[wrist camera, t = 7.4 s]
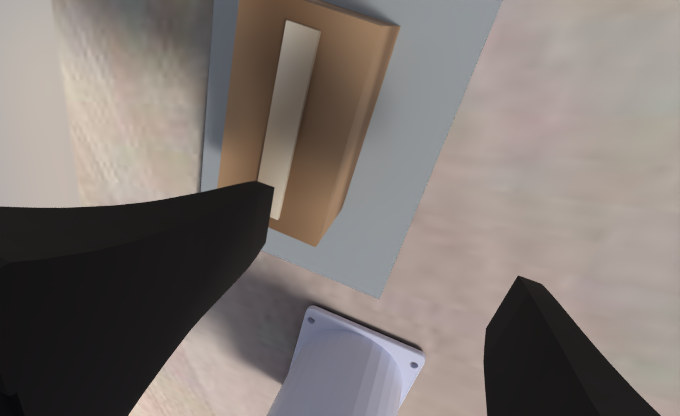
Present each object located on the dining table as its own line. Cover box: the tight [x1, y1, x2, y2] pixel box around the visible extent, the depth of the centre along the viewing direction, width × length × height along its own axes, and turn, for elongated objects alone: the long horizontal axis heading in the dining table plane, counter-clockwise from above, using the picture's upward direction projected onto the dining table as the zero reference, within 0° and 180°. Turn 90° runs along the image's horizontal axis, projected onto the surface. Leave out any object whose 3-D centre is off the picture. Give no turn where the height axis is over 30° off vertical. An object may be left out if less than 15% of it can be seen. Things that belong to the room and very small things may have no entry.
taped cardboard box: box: [217, 0, 401, 247], centre depth 16 cm, size 5×9×4 cm, turn 164°
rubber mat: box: [201, 0, 503, 299], centre depth 18 cm, size 18×12×1 cm, turn 165°
